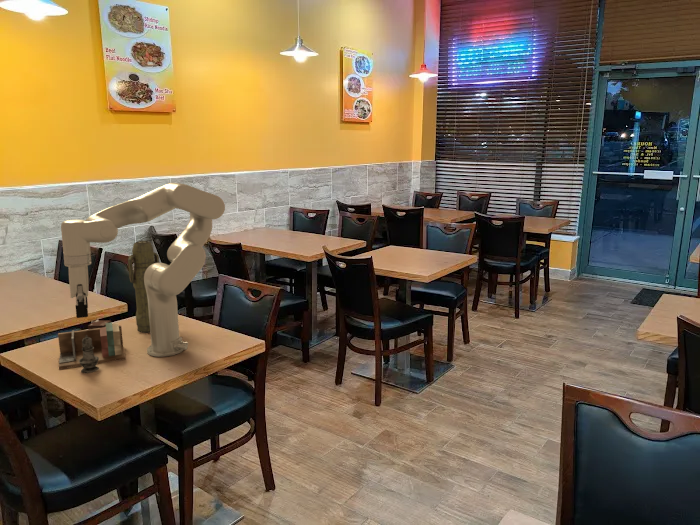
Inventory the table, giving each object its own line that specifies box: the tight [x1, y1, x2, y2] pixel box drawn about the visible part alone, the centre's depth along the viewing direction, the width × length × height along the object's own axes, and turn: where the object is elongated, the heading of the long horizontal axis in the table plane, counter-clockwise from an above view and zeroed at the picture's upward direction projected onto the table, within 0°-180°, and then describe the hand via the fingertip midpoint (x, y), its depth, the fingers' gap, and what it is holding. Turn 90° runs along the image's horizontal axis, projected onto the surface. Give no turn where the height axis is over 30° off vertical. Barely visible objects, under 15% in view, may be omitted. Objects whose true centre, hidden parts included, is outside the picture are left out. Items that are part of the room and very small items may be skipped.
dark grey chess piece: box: [79, 335, 100, 374], centre depth 174 cm, size 6×6×12 cm
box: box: [87, 320, 112, 330], centre depth 199 cm, size 6×6×7 cm
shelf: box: [57, 322, 126, 370], centre depth 184 cm, size 20×13×10 cm, turn 116°
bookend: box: [58, 329, 76, 365], centre depth 181 cm, size 5×9×8 cm, turn 26°
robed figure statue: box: [127, 240, 160, 334], centre depth 209 cm, size 9×12×35 cm
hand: (82, 312), depth 171 cm, fingers open, 9 cm apart
